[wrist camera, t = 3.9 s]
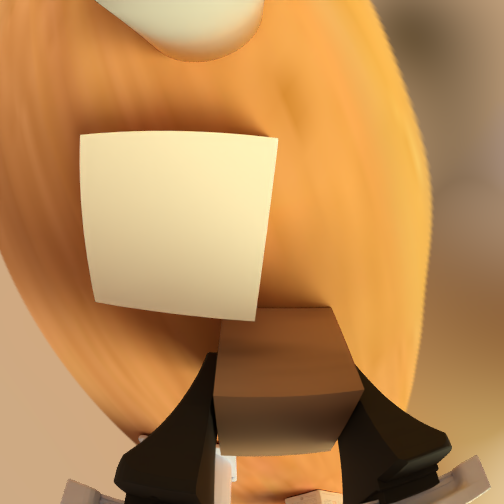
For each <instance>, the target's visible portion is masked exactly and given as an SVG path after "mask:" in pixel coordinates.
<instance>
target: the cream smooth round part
mask: <svg viewBox="0 0 504 504" xmlns="http://www.w3.org/2000/svg"><path fill="white" fill-rule="evenodd" d="M95 1H97V2H98V3H99V4H100V5H102V6H103V7H104V8H106V9H107V10H108V11H110V12H111V13H113V14H114V15H115V16H116V17H118V18H119V19H120V20H122V21H123V22H124V23H126V24H127V25H128V26H129V27H131V28H132V29H133V30H134V31H136V32H137V33H138V34H139V35H141V36H142V37H143V38H144V39H146V40H147V41H148V42H149V43H150V44H151V45H153V46H154V47H155V48H156V49H157V50H159V51H160V52H161V53H163V54H164V55H166V56H168V57H170V58H173V59H176V60H180V61H185V62H205V61H211V60H215V59H218V58H222V57H224V56H227V55H229V54H231V53H233V52H235V51H237V50H238V49H240V48H241V47H243V46H244V45H245V44H246V43H247V42H248V41H249V40H250V39H251V38H252V37H253V36H254V34H255V33H256V32H257V30H258V28H259V26H260V23H261V20H262V14H263V6H264V0H95Z"/></svg>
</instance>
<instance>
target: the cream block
mask: <svg viewBox="0 0 504 504" xmlns="http://www.w3.org/2000/svg"><path fill="white" fill-rule="evenodd" d="M277 146H278V138H271V137H263V136H254V135H243V134H231V133H216V132H196V131H128V132H109V133H96V134H85V135H80V191H81V207H82V219H83V229H84V238H85V246H86V253H87V259H88V266H89V272H90V277H91V283H92V288H93V293H94V298H95V302H98V303H104V304H110V305H116V306H122V307H129V308H135V309H142V310H149V311H157V312H164V313H172V314H180V315H189V316H199V317H208V318H219V319H230V320H243V321H255V316H256V308H257V301H258V294H259V287H260V279H261V272H262V264H263V257H264V249H265V242H266V234H267V226H268V219H269V211H270V203H271V195H272V187H273V179H274V171H275V163H276V154H277Z"/></svg>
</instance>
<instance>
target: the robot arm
mask: <svg viewBox="0 0 504 504" xmlns="http://www.w3.org/2000/svg"><path fill="white" fill-rule="evenodd" d="M217 356H218V353H213V352H209V353H207V355H206V358H205V360H204V363H203V365H202V367H201V369H200V371H199V373H198V375H197V377H196V378H195V380H194V382H193V383H192V385H191V387H190V388H189V390H188V391H187V393H186V394H185V396H184V397H183V399H182V400H181V402H180V403H179V404H178V405H177V407H176V408H175V409H174V410H173V412H172V413H171V414H170V415H169V416H168V417H167V418H166V420H165V421H164V422H163V423H162V424H161V425H160V426H159V427H158V428H157V429H156V430H155V431H154V432H152V433H151V434H150V435H149V436H146V435H140V436H139V438H138V440H139V441H140V443H139V444H138V445H137V446H136V447H134V448H133V449H131V450H130V451H128V452H127V453H125V454H124V455H123V456H122V458H121V460H120V462H119V465H118V467H117V470H116V475H115V478H114V483H115V484H116V485H117V486H118V487H119V488H120V489H121V490H123V491H124V492H125V493H126V498H125V501H122V500H119V499H115V498H112V497H109V496H106V495H103V494H101V493H100V492H99V491H97V490H96V489H93V488H91V487H89V486H87V485H84V484H81V483H79V482H76V481H74V480H71V479H68V482H67V484H66V488H65V491H64V494H63V497H62V501H61V504H231V482H235V481H237V469H236V456H221V453H220V446H219V444H216V441H217V434H218V431H217V423H216V415H215V407H214V398H213V393H214V384H215V374H216V365H217ZM355 366H356V365H355ZM356 369H357V371H358V374H359V376H360V379H361V382H362V384H363V387H364V391H363V393H362V395H361V397H360V399H359V401H358V403H357V405H356V407H355V409H354V411H353V413H352V414H351V416H350V418H349V420H348V422H347V423H346V425H345V427H344V429H343V430H342V432H341V434H340V436H339V437H338V445H339V452H340V460H341V469H342V483H343V504H468V503H470V502H471V501H473V500H474V499H476V498H477V497H479V496H480V495H482V494H483V493H485V492H486V491H488V490H489V489H490V488H491V486H490V484H489V481H488V479H487V477H486V474H485V472H484V469H483V467H482V465H481V462H480V460H479V458H478V456H477V455H475V456H473V457H471V458H470V459H468V460H466V461H464V462H462V463H461V464H459V465H458V466H457V467H455V468H454V469H453V470H452V471H450V472H448V473H447V474H444V475H442V476H440V477H438V476H437V473H436V471H437V470H438V465H437V463H438V462H439V461H441V460H442V459H443V458H444V457H445V456H446V455H447V454H448V453H449V452H450V451H451V449H452V446H451V444H450V441H449V439H448V437H447V435H446V434H445V433H444V432H442V431H439V430H437V429H434V428H432V427H430V426H428V425H426V424H424V423H422V422H420V421H418V420H417V419H415V418H413V417H412V416H410V415H409V414H407V413H406V412H404V411H403V410H401V409H400V408H399V407H397V406H396V405H395V404H394V403H392V402H391V401H390V400H389V399H388V398H386V397H385V396H384V395H383V394H382V393H381V392H380V391H379V390H378V389H377V388H376V387H375V386H374V385H373V384H372V383H371V382H370V381H369V380H368V379H367V377H366V376H365V375H364V374H363V373H362V372H361V371H360V370H359V368H358V367H357V366H356Z"/></svg>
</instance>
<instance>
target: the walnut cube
mask: <svg viewBox="0 0 504 504" xmlns="http://www.w3.org/2000/svg"><path fill="white" fill-rule="evenodd" d="M363 391H364V387H363V384H362V382H361V379H360V376H359V374H358V371H357V369H356V366H355V364H354V361H353V359H352V356H351V354H350V351H349V349H348V346H347V344H346V341H345V339H344V336H343V334H342V332H341V329H340V327H339V324H338V322H337V320H336V317H335V315H334V313H333V310H332V308H256V316H255V321H243V320H230V319H222V321H221V330H220V338H219V347H218V356H217V365H216V374H215V384H214V393H213V398H214V407H215V415H216V423H217V431H218V439H219V446H220V453H221V456H282V455H297V454H308V453H317V452H325V451H330V450H331V449H332V447H333V445H334V444H335V442H336V441H337V439H338V437H339V436H340V434H341V432H342V430H343V429H344V427H345V425H346V423H347V422H348V420H349V418H350V416H351V414H352V413H353V411H354V409H355V407H356V405H357V403H358V401H359V399H360V397H361V395H362V393H363Z"/></svg>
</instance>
